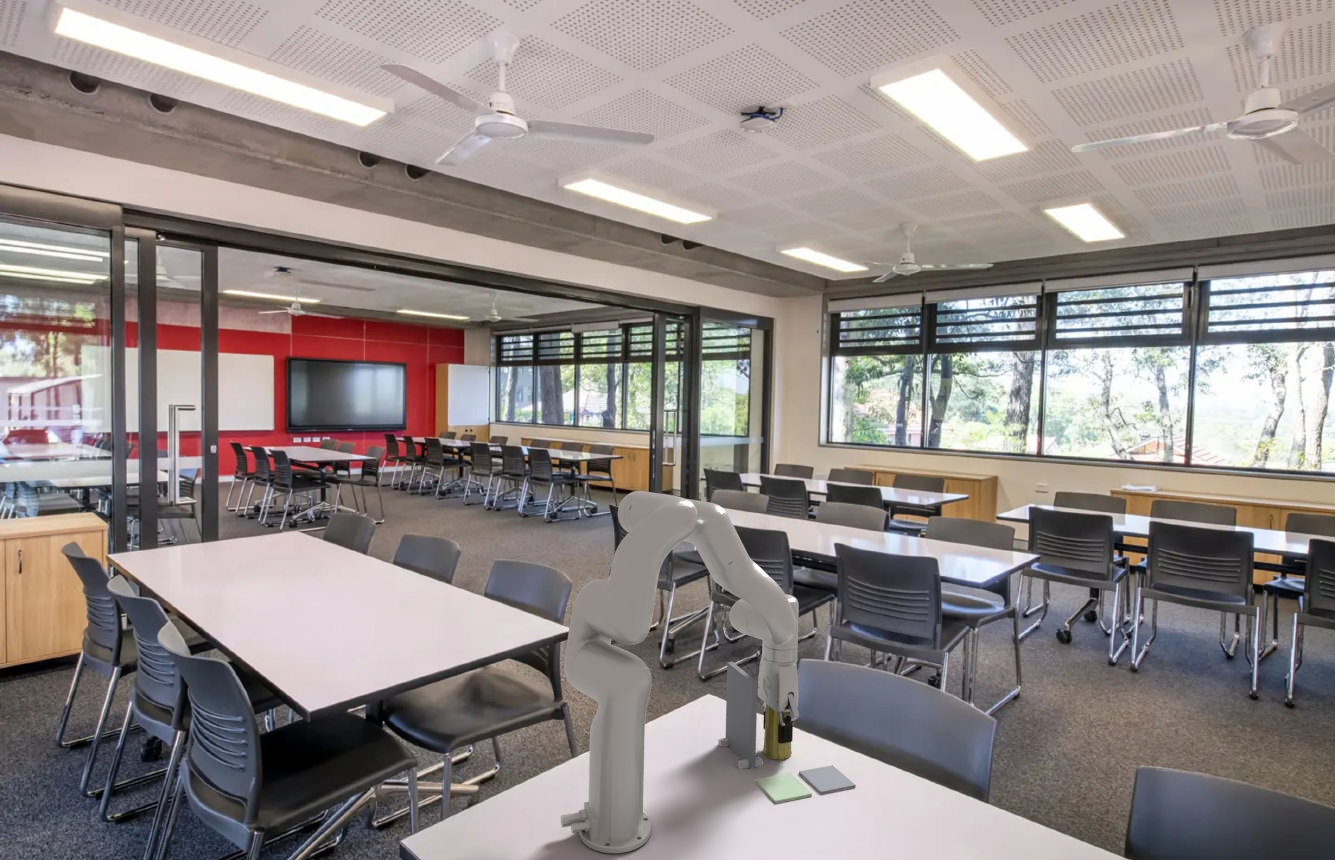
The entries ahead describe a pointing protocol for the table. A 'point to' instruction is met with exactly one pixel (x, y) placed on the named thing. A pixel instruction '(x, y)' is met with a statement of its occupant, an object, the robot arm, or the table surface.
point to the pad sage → (783, 788)
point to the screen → (741, 716)
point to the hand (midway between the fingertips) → (777, 734)
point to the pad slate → (827, 779)
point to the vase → (774, 736)
